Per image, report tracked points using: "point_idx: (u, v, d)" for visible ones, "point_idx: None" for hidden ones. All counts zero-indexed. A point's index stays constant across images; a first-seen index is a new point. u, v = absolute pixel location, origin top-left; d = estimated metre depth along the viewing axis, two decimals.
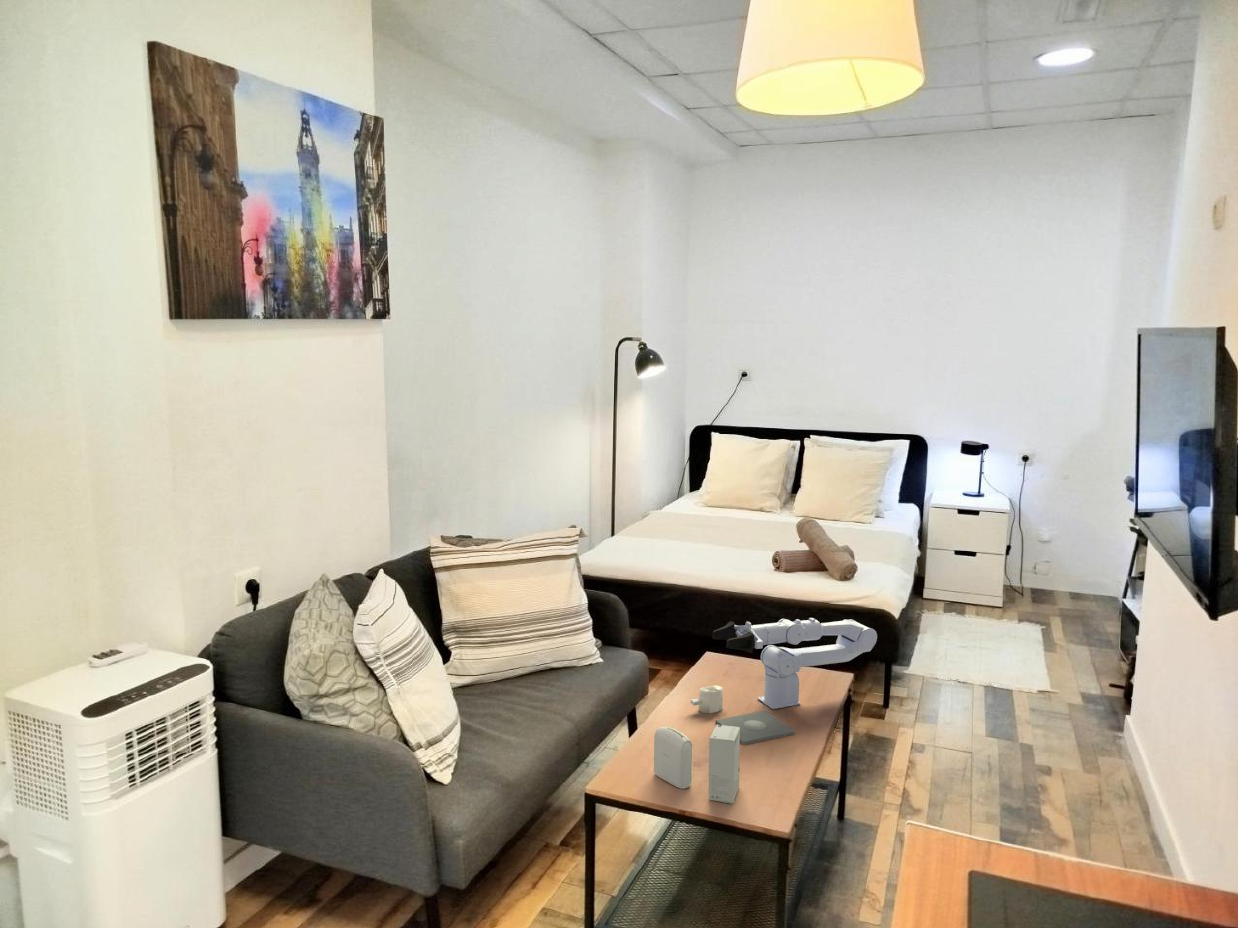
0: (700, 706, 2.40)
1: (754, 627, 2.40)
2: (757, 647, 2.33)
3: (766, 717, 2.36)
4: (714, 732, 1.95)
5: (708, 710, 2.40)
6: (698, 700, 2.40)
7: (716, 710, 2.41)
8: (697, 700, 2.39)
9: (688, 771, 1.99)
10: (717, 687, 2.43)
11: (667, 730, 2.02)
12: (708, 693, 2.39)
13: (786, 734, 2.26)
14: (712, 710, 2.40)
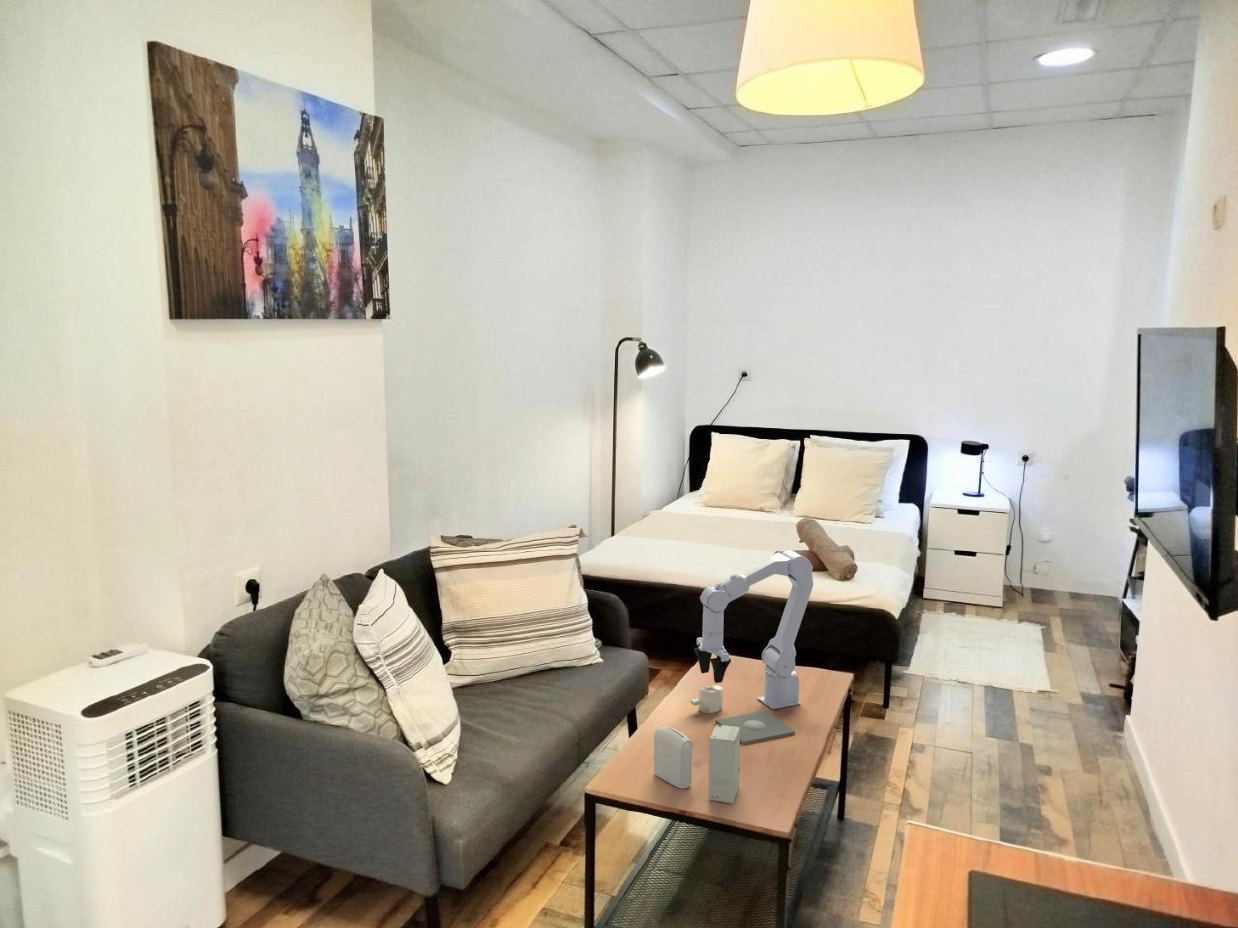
0: (700, 706, 2.40)
1: (705, 643, 2.38)
2: (727, 659, 2.34)
3: (766, 717, 2.36)
4: (714, 732, 1.95)
5: (708, 710, 2.40)
6: (698, 700, 2.40)
7: (716, 710, 2.41)
8: (697, 700, 2.39)
9: (688, 771, 1.99)
10: (717, 687, 2.43)
11: (667, 730, 2.02)
12: (708, 693, 2.39)
13: (786, 734, 2.26)
14: (712, 710, 2.40)
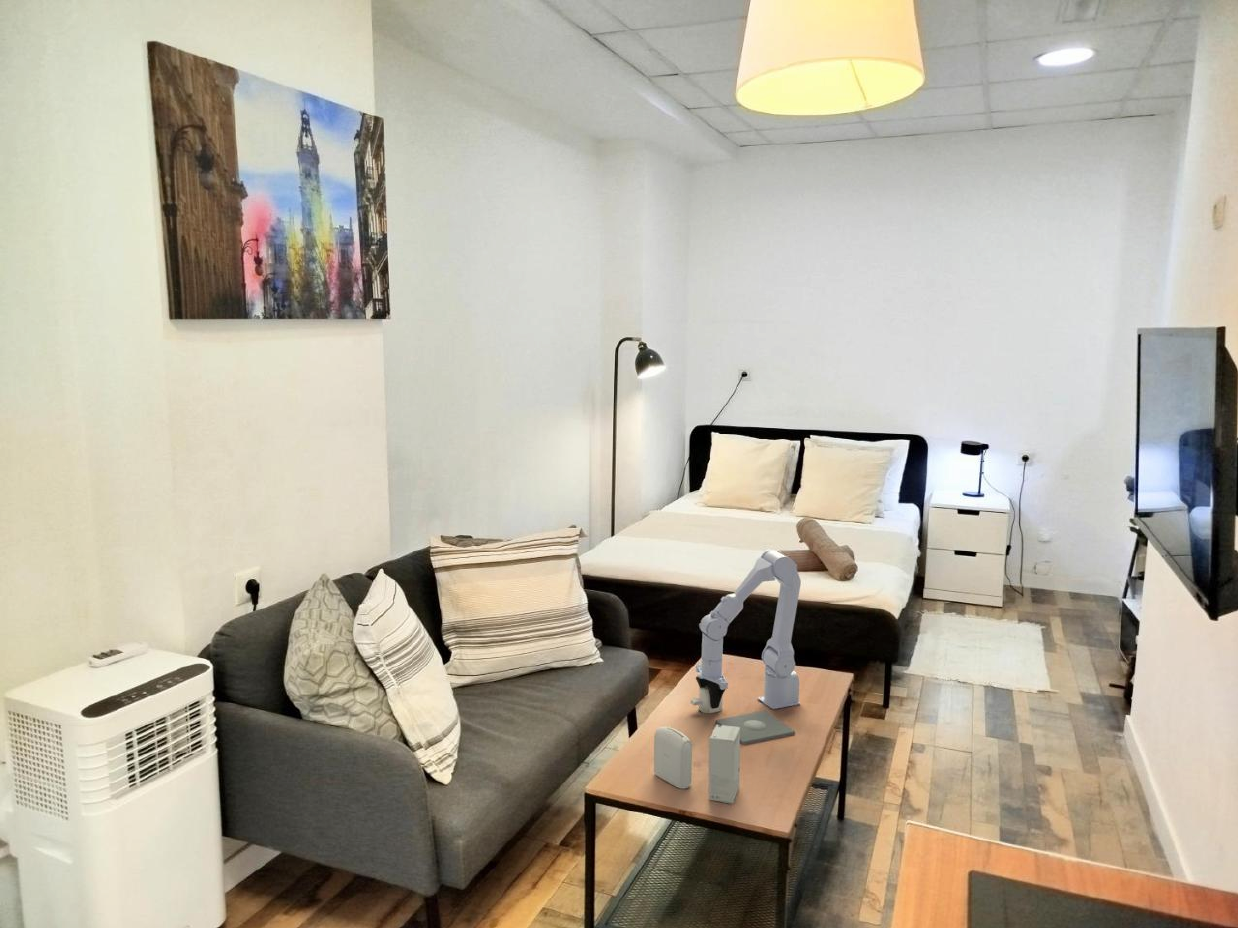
0: (700, 706, 2.40)
1: (704, 671, 2.39)
2: (726, 687, 2.35)
3: (766, 717, 2.36)
4: (714, 732, 1.95)
5: (708, 710, 2.40)
6: (698, 700, 2.40)
7: (716, 710, 2.41)
8: (697, 700, 2.39)
9: (688, 771, 1.99)
10: None
11: (667, 730, 2.02)
12: (708, 693, 2.39)
13: (786, 734, 2.26)
14: (712, 710, 2.40)
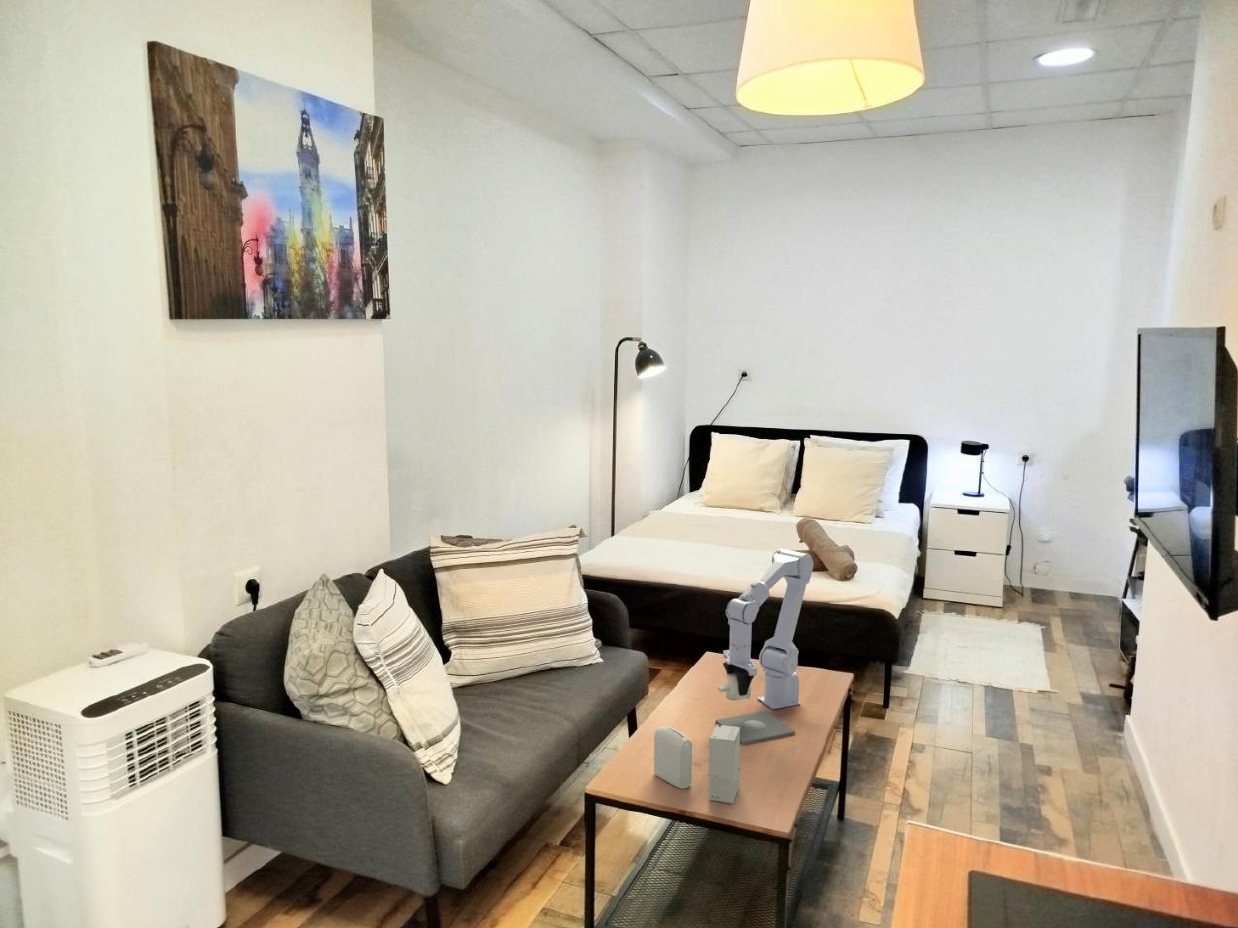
0: (727, 693, 2.32)
1: (732, 657, 2.31)
2: (755, 673, 2.26)
3: (766, 717, 2.36)
4: (714, 732, 1.95)
5: (736, 697, 2.31)
6: (725, 687, 2.32)
7: (744, 697, 2.32)
8: (725, 687, 2.31)
9: (688, 771, 1.99)
10: None
11: (667, 730, 2.02)
12: (736, 679, 2.31)
13: (786, 734, 2.26)
14: (740, 697, 2.32)
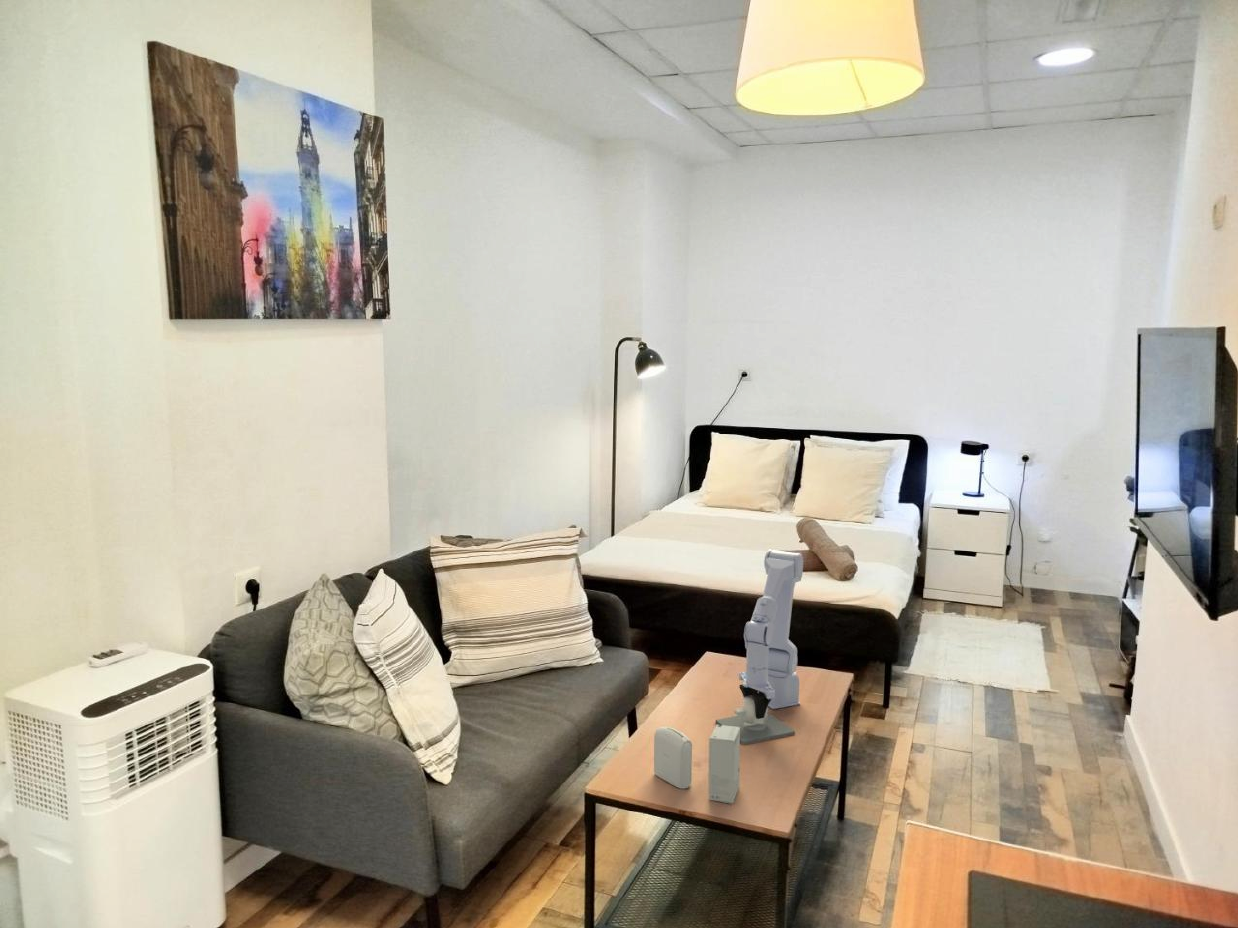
0: (744, 716, 2.28)
1: (749, 679, 2.27)
2: (773, 697, 2.23)
3: None
4: (714, 732, 1.95)
5: (753, 720, 2.28)
6: (742, 710, 2.28)
7: (761, 720, 2.29)
8: (742, 710, 2.27)
9: (688, 771, 1.99)
10: None
11: (667, 730, 2.02)
12: (753, 702, 2.27)
13: (786, 734, 2.26)
14: (757, 720, 2.28)
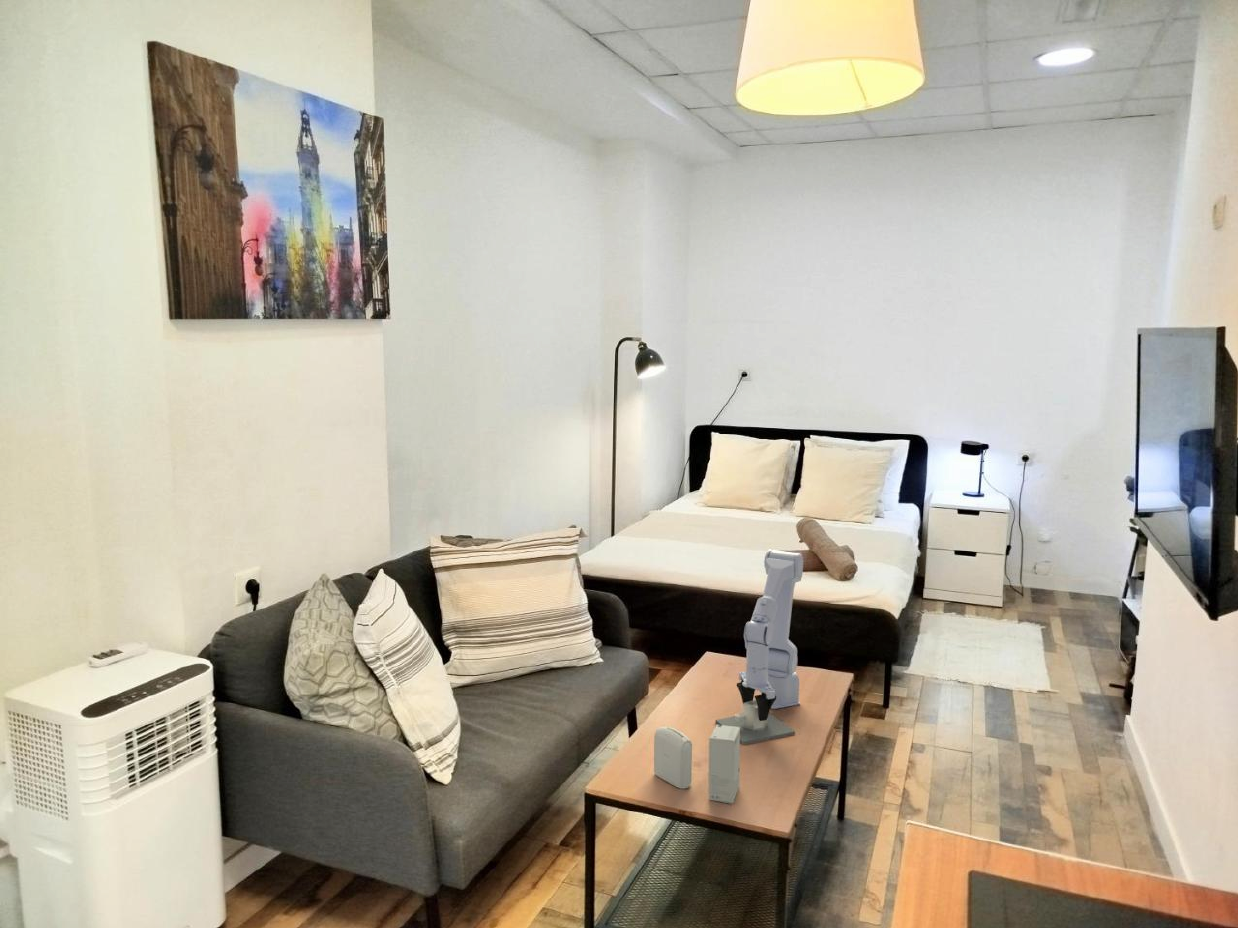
0: (744, 722, 2.29)
1: (749, 679, 2.27)
2: (773, 697, 2.23)
3: None
4: (714, 732, 1.95)
5: (752, 726, 2.28)
6: (742, 715, 2.28)
7: (761, 726, 2.29)
8: (741, 716, 2.28)
9: (688, 771, 1.99)
10: None
11: (667, 730, 2.02)
12: (753, 708, 2.27)
13: (786, 734, 2.26)
14: (757, 726, 2.28)
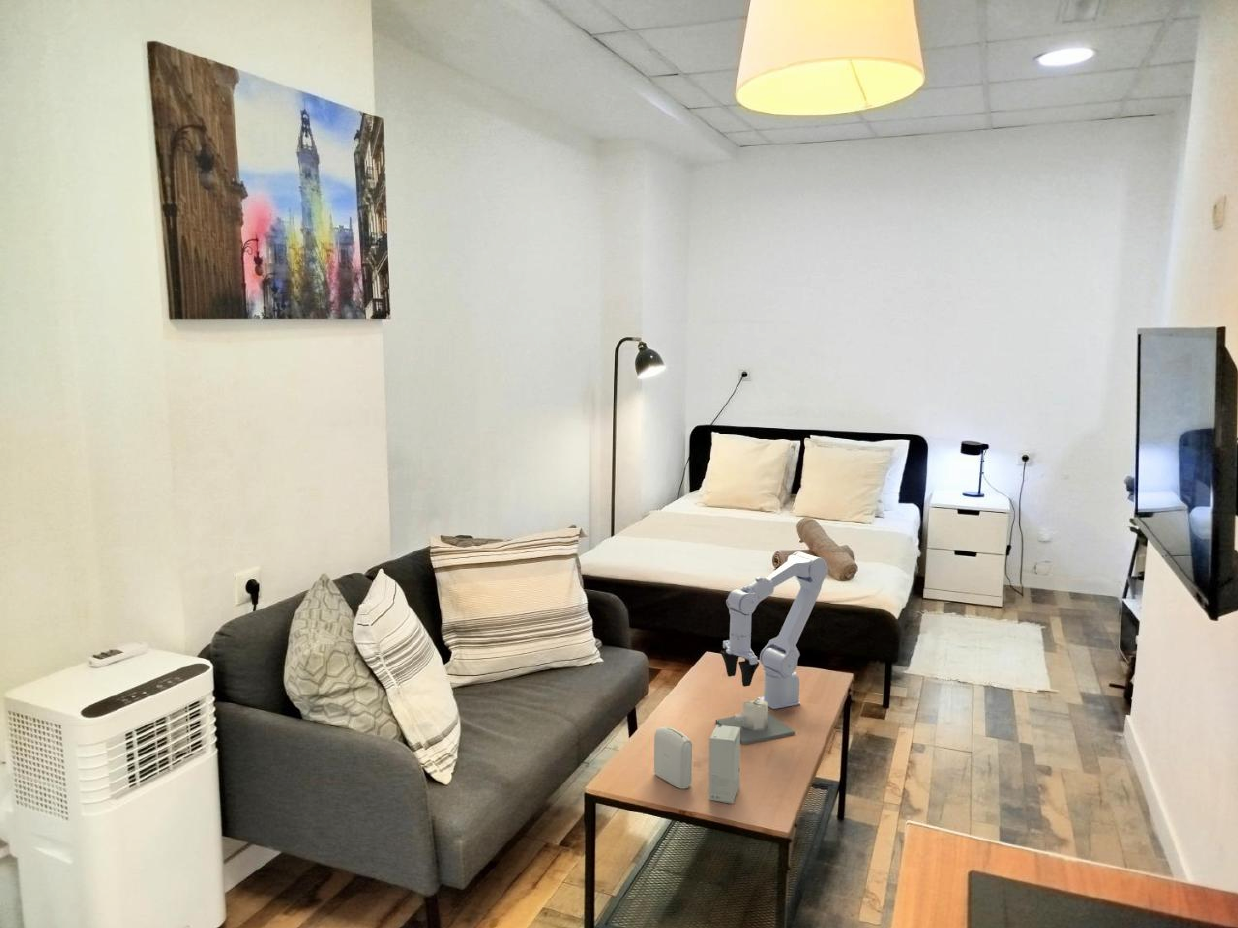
0: (744, 722, 2.29)
1: (733, 647, 2.35)
2: (756, 662, 2.32)
3: None
4: (714, 732, 1.95)
5: (752, 726, 2.28)
6: (742, 715, 2.28)
7: (761, 726, 2.29)
8: (741, 716, 2.28)
9: (688, 771, 1.99)
10: (762, 702, 2.31)
11: (667, 730, 2.02)
12: (753, 708, 2.27)
13: (786, 734, 2.26)
14: (757, 726, 2.28)
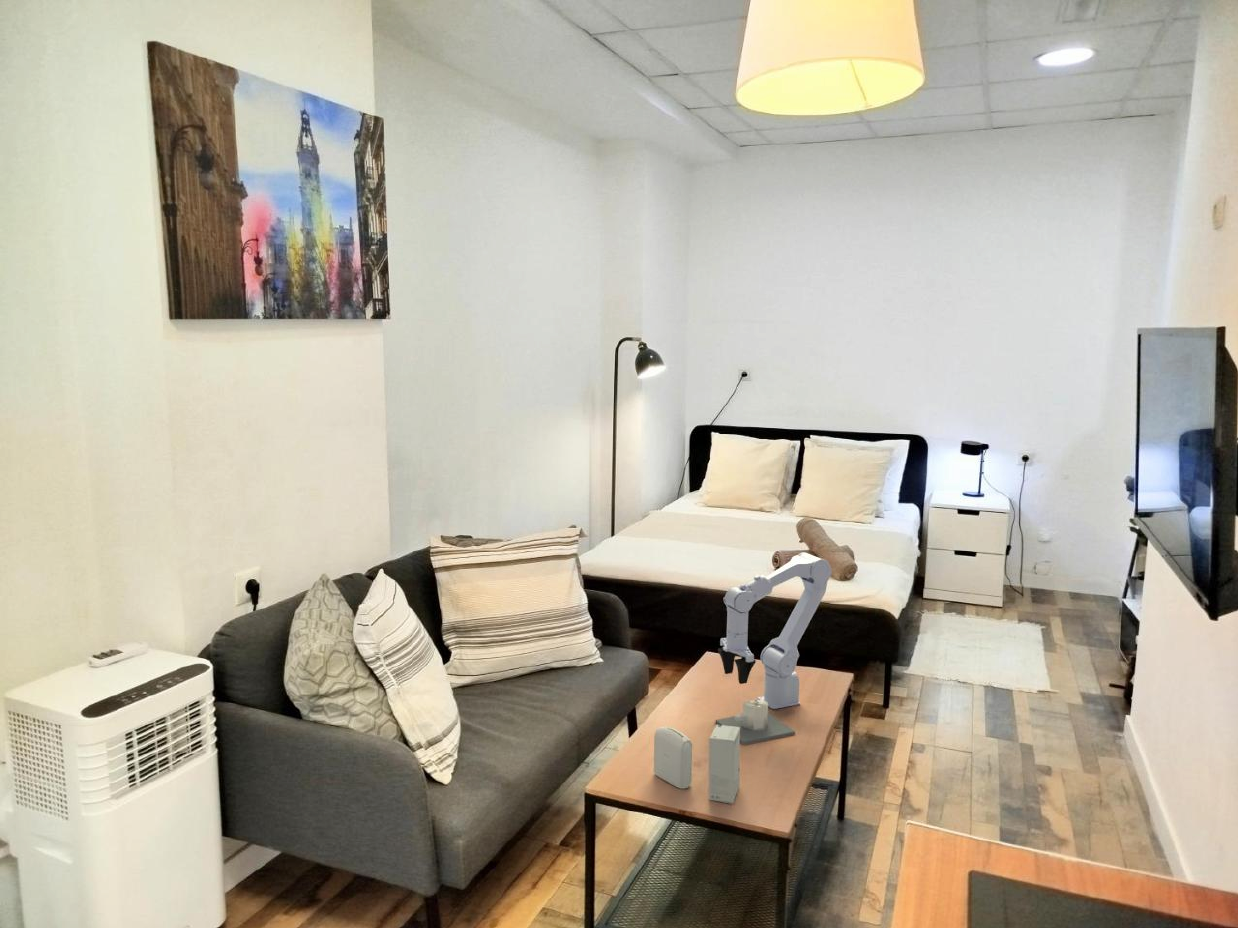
0: (744, 722, 2.29)
1: (730, 644, 2.37)
2: (752, 660, 2.33)
3: None
4: (714, 732, 1.95)
5: (752, 726, 2.28)
6: (742, 715, 2.28)
7: (761, 726, 2.29)
8: (741, 716, 2.28)
9: (688, 771, 1.99)
10: (762, 702, 2.31)
11: (667, 730, 2.02)
12: (753, 708, 2.27)
13: (786, 734, 2.26)
14: (757, 726, 2.28)
